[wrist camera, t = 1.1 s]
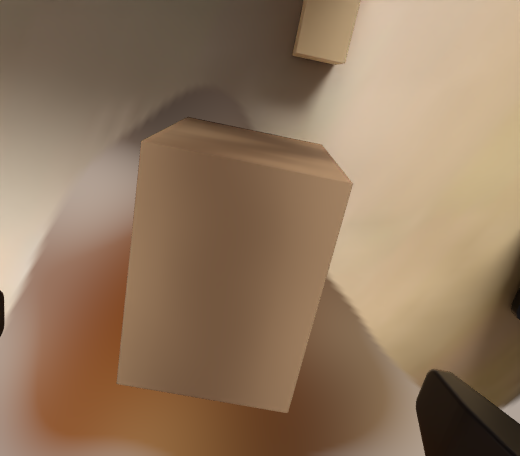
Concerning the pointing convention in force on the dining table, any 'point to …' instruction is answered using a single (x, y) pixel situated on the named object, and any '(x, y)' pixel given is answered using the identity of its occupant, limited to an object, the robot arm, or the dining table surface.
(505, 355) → the dining table surface
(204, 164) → the cabinet block
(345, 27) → the grey toy bench
